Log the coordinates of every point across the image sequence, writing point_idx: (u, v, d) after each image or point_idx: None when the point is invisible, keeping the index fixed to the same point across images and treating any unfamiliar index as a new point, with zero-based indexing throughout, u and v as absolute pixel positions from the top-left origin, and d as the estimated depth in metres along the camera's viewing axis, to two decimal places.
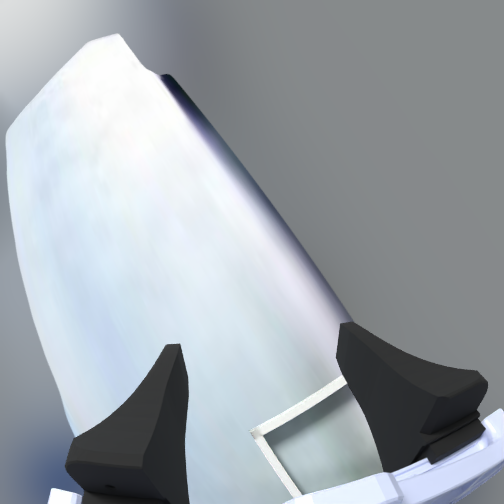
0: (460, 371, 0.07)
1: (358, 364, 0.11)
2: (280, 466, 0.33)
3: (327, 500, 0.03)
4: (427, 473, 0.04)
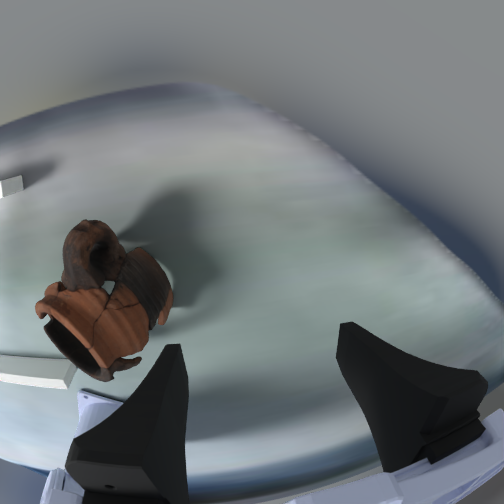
0: (460, 371, 0.07)
1: (358, 364, 0.11)
2: None
3: (327, 500, 0.03)
4: (427, 473, 0.04)
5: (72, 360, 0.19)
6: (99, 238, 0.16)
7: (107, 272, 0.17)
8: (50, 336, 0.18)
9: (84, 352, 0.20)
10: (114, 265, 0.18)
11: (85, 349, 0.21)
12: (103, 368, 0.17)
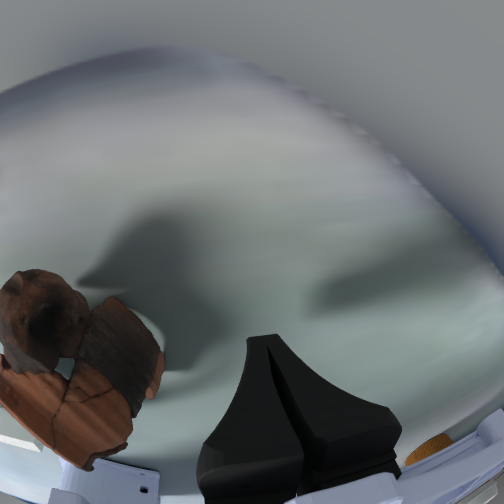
0: (368, 405, 0.07)
1: (274, 380, 0.11)
2: None
3: (327, 500, 0.03)
4: (427, 473, 0.04)
5: None
6: (40, 302, 0.09)
7: (62, 346, 0.10)
8: None
9: None
10: (72, 333, 0.11)
11: None
12: (76, 466, 0.10)
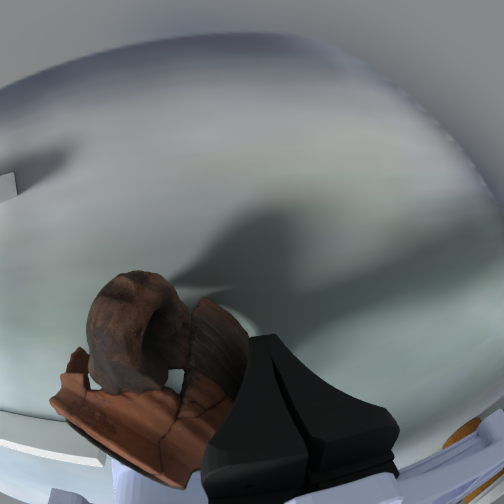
0: (365, 406, 0.07)
1: None
2: None
3: (327, 500, 0.03)
4: (427, 473, 0.04)
5: (114, 456, 0.12)
6: (155, 309, 0.09)
7: (169, 356, 0.10)
8: (77, 430, 0.11)
9: None
10: (179, 341, 0.11)
11: None
12: (176, 487, 0.10)
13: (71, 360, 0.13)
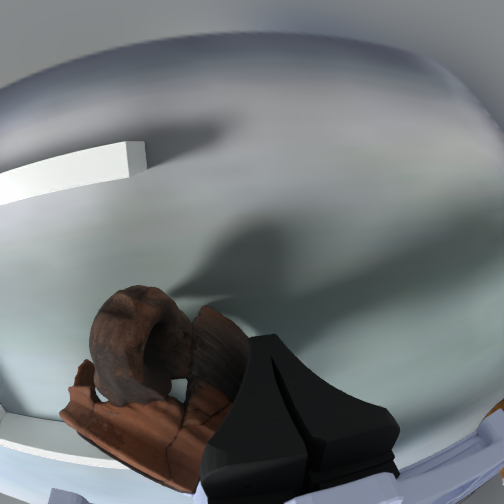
0: (365, 406, 0.07)
1: None
2: (43, 451, 0.14)
3: (327, 500, 0.03)
4: (427, 473, 0.04)
5: (125, 464, 0.12)
6: (154, 323, 0.09)
7: (172, 367, 0.11)
8: (88, 440, 0.12)
9: None
10: (180, 351, 0.11)
11: None
12: (185, 491, 0.10)
13: (79, 372, 0.13)
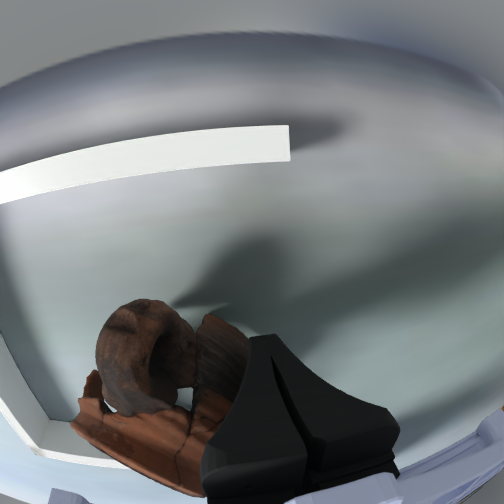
0: (366, 406, 0.07)
1: None
2: (103, 460, 0.14)
3: (327, 500, 0.03)
4: (427, 473, 0.04)
5: (136, 470, 0.13)
6: (157, 336, 0.09)
7: (177, 376, 0.11)
8: (99, 448, 0.12)
9: None
10: (185, 361, 0.11)
11: None
12: (195, 495, 0.10)
13: (87, 383, 0.13)
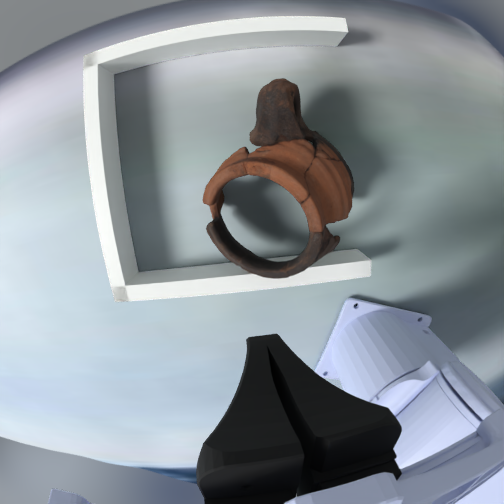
0: (367, 405, 0.07)
1: (274, 380, 0.11)
2: (198, 282, 0.20)
3: (327, 500, 0.03)
4: (427, 473, 0.04)
5: (247, 263, 0.19)
6: (296, 93, 0.16)
7: (302, 132, 0.17)
8: (217, 235, 0.18)
9: None
10: (305, 129, 0.17)
11: (256, 256, 0.20)
12: (315, 233, 0.15)
13: None
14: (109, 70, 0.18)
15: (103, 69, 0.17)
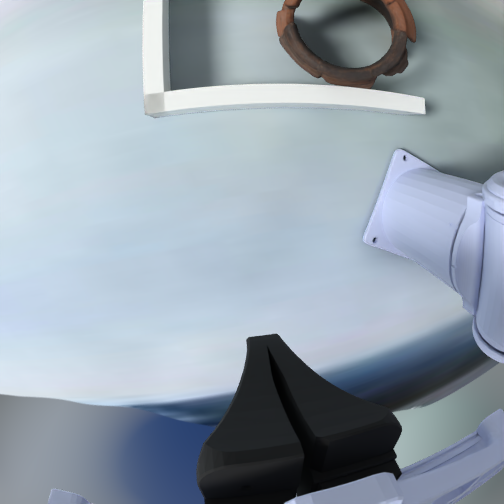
0: (368, 405, 0.07)
1: (274, 380, 0.11)
2: (257, 87, 0.16)
3: (327, 500, 0.03)
4: (427, 473, 0.04)
5: (328, 64, 0.14)
6: None
7: None
8: (297, 34, 0.14)
9: None
10: None
11: None
12: (401, 32, 0.12)
13: None
14: None
15: None
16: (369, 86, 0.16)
